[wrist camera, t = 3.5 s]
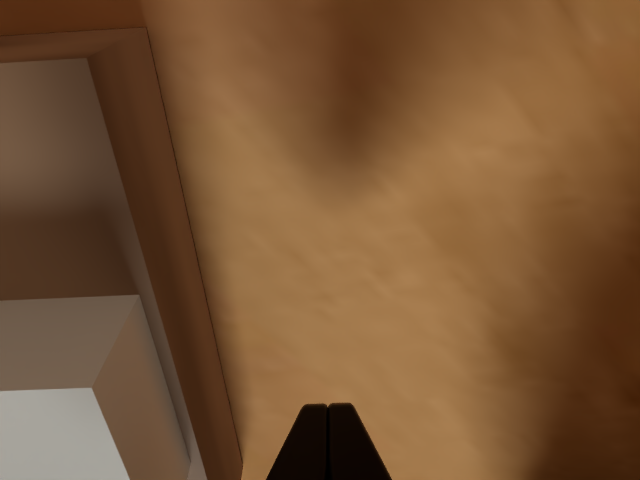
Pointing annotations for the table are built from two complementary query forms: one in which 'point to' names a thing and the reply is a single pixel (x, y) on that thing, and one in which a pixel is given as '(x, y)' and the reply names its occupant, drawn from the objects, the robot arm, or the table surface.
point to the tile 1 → (84, 393)
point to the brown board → (108, 211)
